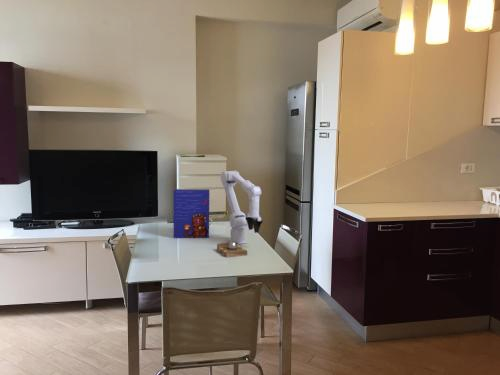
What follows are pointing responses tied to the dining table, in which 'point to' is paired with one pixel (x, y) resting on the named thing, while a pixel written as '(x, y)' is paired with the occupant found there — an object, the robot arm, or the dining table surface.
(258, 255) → the dining table surface
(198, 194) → the cereal box
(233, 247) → the bushing
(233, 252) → the jig
